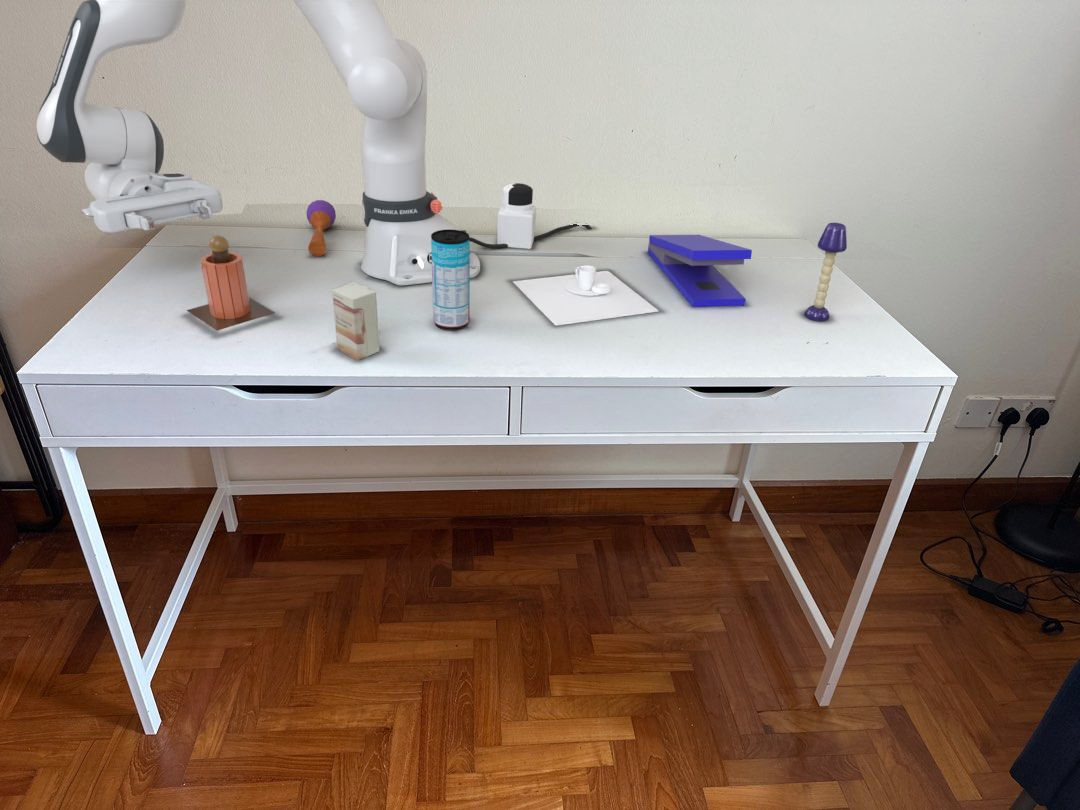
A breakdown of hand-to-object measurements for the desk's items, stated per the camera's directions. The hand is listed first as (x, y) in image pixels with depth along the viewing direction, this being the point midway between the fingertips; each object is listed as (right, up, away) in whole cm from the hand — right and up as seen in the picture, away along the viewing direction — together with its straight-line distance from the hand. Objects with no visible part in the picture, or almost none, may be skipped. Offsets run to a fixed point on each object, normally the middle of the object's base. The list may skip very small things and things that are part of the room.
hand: (179, 219), depth 123 cm
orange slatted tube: (+8, -15, 0) cm, 17 cm away
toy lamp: (+107, -15, +12) cm, 109 cm away
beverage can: (+44, -17, +2) cm, 47 cm away
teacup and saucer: (+66, -11, +15) cm, 69 cm away
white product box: (+31, -22, -8) cm, 39 cm away
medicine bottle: (+53, +4, +37) cm, 65 cm away
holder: (+8, -16, 0) cm, 18 cm away
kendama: (+13, +4, +33) cm, 36 cm away
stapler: (+88, -5, +25) cm, 92 cm away
